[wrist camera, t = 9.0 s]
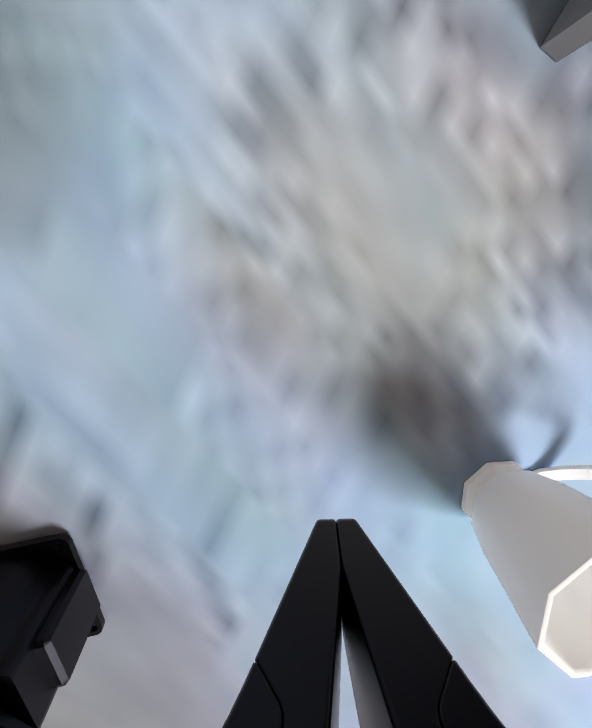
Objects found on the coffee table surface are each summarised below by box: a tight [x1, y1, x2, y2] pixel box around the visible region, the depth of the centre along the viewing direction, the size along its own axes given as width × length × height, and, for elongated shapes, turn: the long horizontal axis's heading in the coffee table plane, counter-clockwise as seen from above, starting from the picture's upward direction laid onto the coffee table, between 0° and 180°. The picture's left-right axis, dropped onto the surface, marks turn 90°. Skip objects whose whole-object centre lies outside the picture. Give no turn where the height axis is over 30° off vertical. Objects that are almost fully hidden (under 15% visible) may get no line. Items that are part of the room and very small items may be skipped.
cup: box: [461, 461, 592, 678], centre depth 19 cm, size 7×10×8 cm
